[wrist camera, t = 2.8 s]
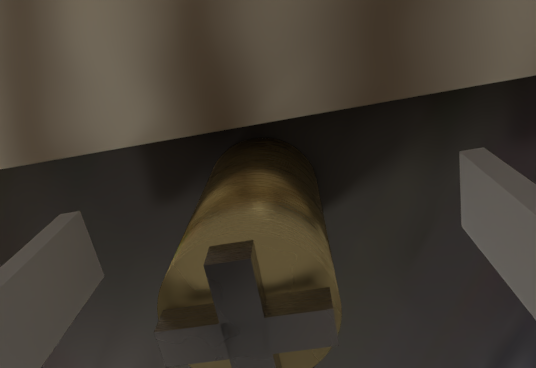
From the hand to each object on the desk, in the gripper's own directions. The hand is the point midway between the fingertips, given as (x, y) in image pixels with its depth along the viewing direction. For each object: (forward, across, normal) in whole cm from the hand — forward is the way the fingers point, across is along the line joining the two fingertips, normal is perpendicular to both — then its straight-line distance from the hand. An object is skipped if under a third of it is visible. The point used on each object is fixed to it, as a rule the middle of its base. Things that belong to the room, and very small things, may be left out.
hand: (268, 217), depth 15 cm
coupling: (+3, 0, 0) cm, 3 cm away
